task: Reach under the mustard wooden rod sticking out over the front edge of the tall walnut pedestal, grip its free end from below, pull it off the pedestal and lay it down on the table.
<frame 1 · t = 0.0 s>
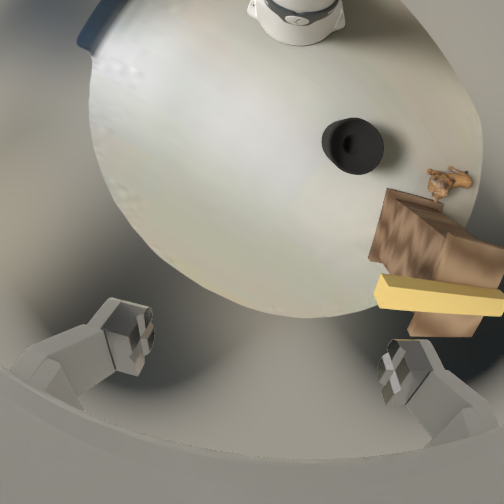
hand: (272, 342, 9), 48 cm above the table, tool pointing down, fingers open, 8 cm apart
mustard rod: (448, 292, 32), point 26 cm above the table, touching walnut pedestal
walnut pedestal: (405, 229, 55), on the table
pen holder: (342, 142, 49), on the table
lion figurine: (440, 178, 50), on the table
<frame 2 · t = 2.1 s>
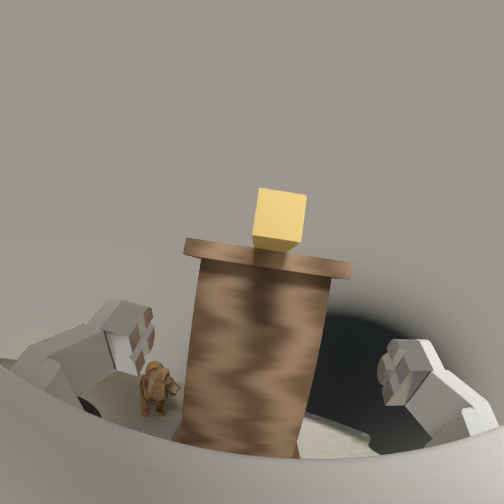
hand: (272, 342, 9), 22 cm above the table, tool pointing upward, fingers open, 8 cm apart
mustard rod: (268, 252, 29), point 26 cm above the table, touching walnut pedestal
walnut pedestal: (236, 445, 31), on the table
lion figurine: (155, 407, 38), on the table
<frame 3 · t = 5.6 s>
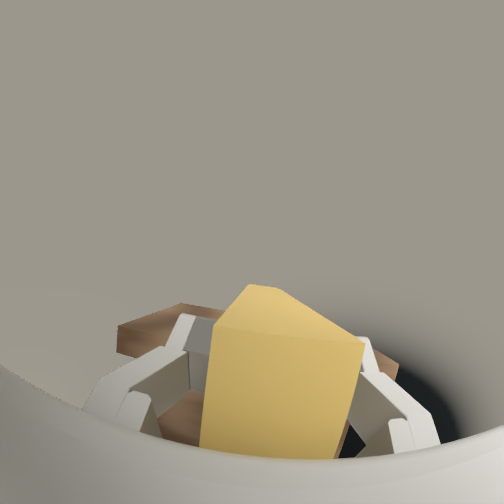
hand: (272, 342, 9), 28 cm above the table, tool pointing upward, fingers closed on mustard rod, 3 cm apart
mustard rod: (260, 341, 17), point 26 cm above the table, touching gripper, walnut pedestal
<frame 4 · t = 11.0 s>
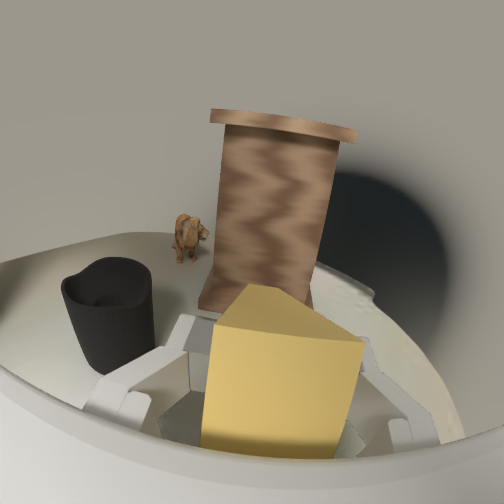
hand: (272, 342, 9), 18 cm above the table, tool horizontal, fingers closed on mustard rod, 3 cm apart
mustard rod: (260, 341, 17), point 12 cm above the table, tilted 30°, touching gripper
walnut pedestal: (258, 290, 45), on the table
pen holder: (120, 352, 29), on the table
lion figurine: (186, 254, 53), on the table
when the fingers open (13 cm above the table, at t = 12.5 s): mustard rod drops 8 cm, on the table.
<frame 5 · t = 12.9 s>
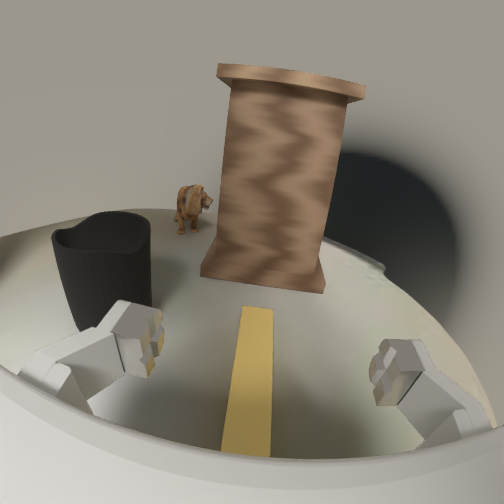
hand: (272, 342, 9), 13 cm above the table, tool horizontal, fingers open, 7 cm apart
mustard rod: (244, 430, 18), on the table
walnut pedestal: (264, 260, 42), on the table
pen holder: (113, 318, 27), on the table
lion figurine: (188, 227, 51), on the table
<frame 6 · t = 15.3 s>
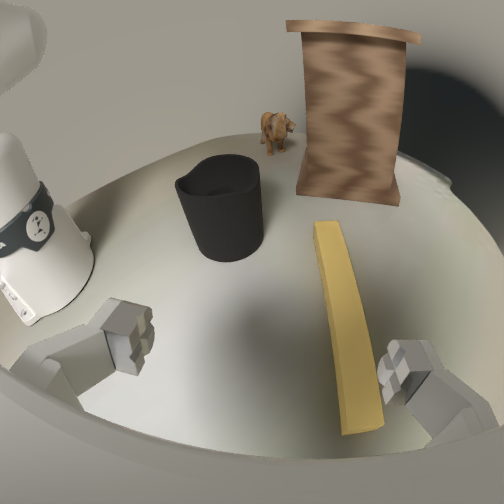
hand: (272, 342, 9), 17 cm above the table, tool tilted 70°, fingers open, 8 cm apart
mustard rod: (341, 319, 28), on the table
walnut pedestal: (348, 176, 45), on the table
pen holder: (230, 240, 37), on the table
lion figurine: (275, 147, 56), on the table
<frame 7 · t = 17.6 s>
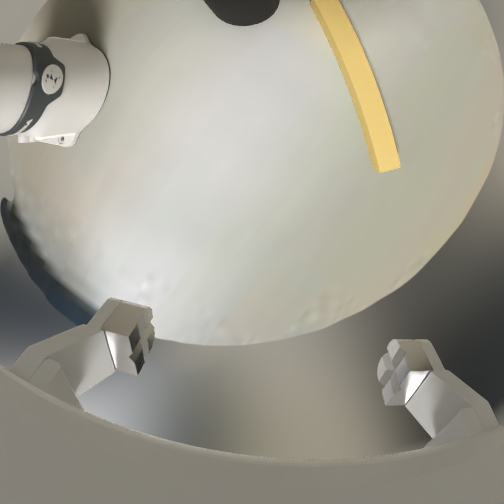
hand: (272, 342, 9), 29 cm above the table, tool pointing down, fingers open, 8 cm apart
mustard rod: (355, 79, 29), on the table
pen holder: (245, 1, 25), on the table
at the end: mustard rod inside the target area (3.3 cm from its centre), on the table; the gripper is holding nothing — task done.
